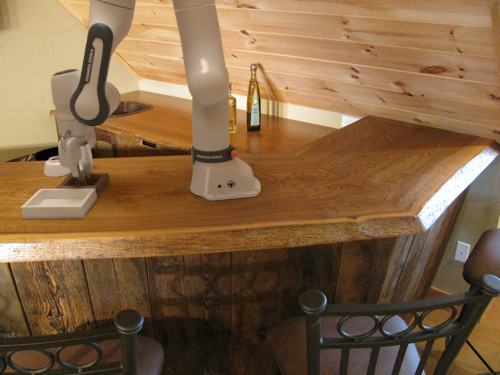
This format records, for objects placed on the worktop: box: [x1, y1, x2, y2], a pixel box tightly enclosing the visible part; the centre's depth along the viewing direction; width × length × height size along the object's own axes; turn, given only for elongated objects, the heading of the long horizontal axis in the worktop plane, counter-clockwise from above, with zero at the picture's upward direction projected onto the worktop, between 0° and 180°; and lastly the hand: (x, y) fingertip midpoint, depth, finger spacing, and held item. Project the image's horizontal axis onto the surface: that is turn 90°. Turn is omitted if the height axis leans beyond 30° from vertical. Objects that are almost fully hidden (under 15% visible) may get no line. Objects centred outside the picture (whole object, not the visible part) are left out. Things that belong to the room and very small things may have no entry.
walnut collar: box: [55, 172, 110, 198], centre depth 126 cm, size 12×12×3 cm
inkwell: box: [43, 154, 72, 178], centre depth 139 cm, size 9×18×10 cm, turn 115°
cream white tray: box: [20, 188, 98, 220], centre depth 114 cm, size 16×12×4 cm
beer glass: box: [71, 140, 95, 186], centre depth 124 cm, size 7×7×15 cm
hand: (81, 170), depth 124 cm, fingers open, 8 cm apart
